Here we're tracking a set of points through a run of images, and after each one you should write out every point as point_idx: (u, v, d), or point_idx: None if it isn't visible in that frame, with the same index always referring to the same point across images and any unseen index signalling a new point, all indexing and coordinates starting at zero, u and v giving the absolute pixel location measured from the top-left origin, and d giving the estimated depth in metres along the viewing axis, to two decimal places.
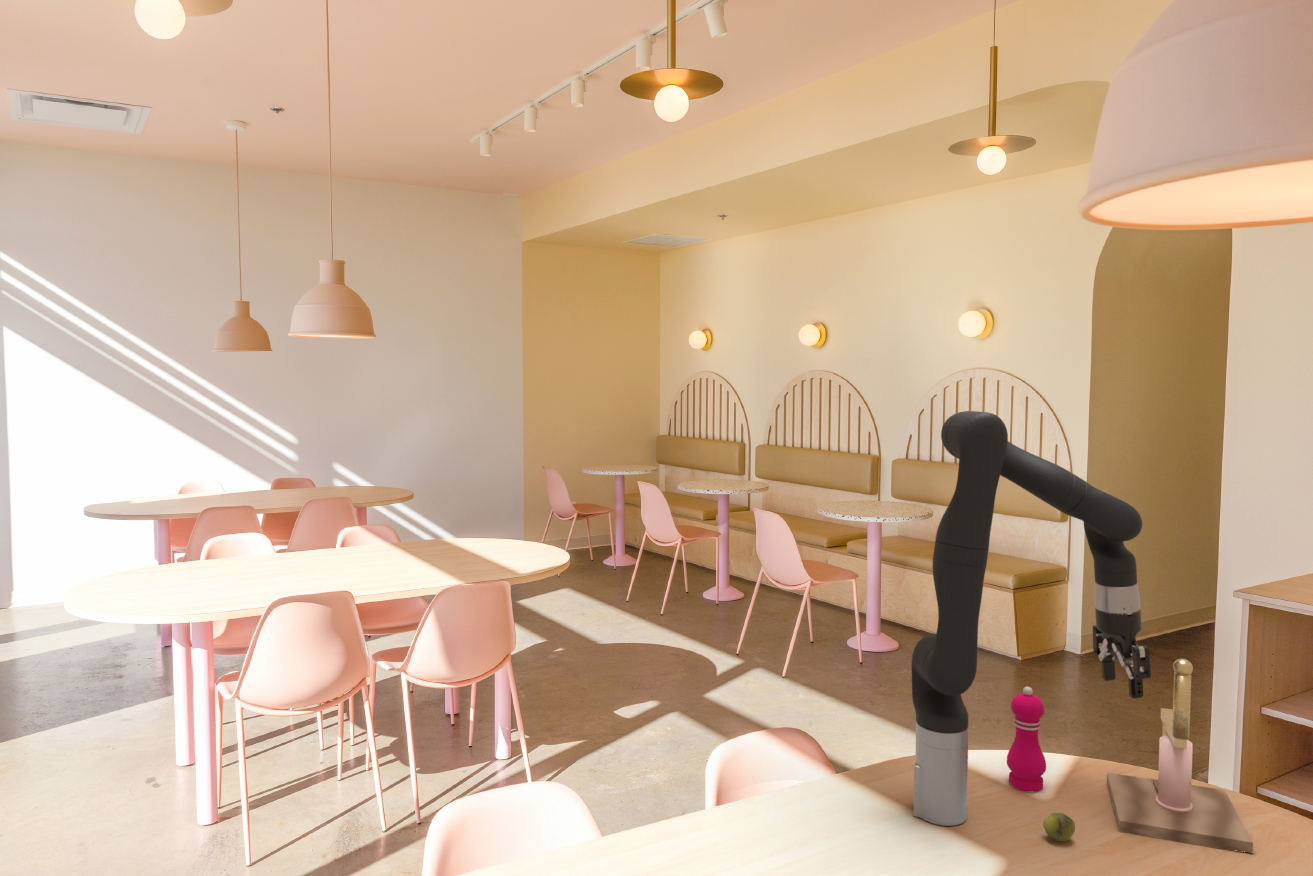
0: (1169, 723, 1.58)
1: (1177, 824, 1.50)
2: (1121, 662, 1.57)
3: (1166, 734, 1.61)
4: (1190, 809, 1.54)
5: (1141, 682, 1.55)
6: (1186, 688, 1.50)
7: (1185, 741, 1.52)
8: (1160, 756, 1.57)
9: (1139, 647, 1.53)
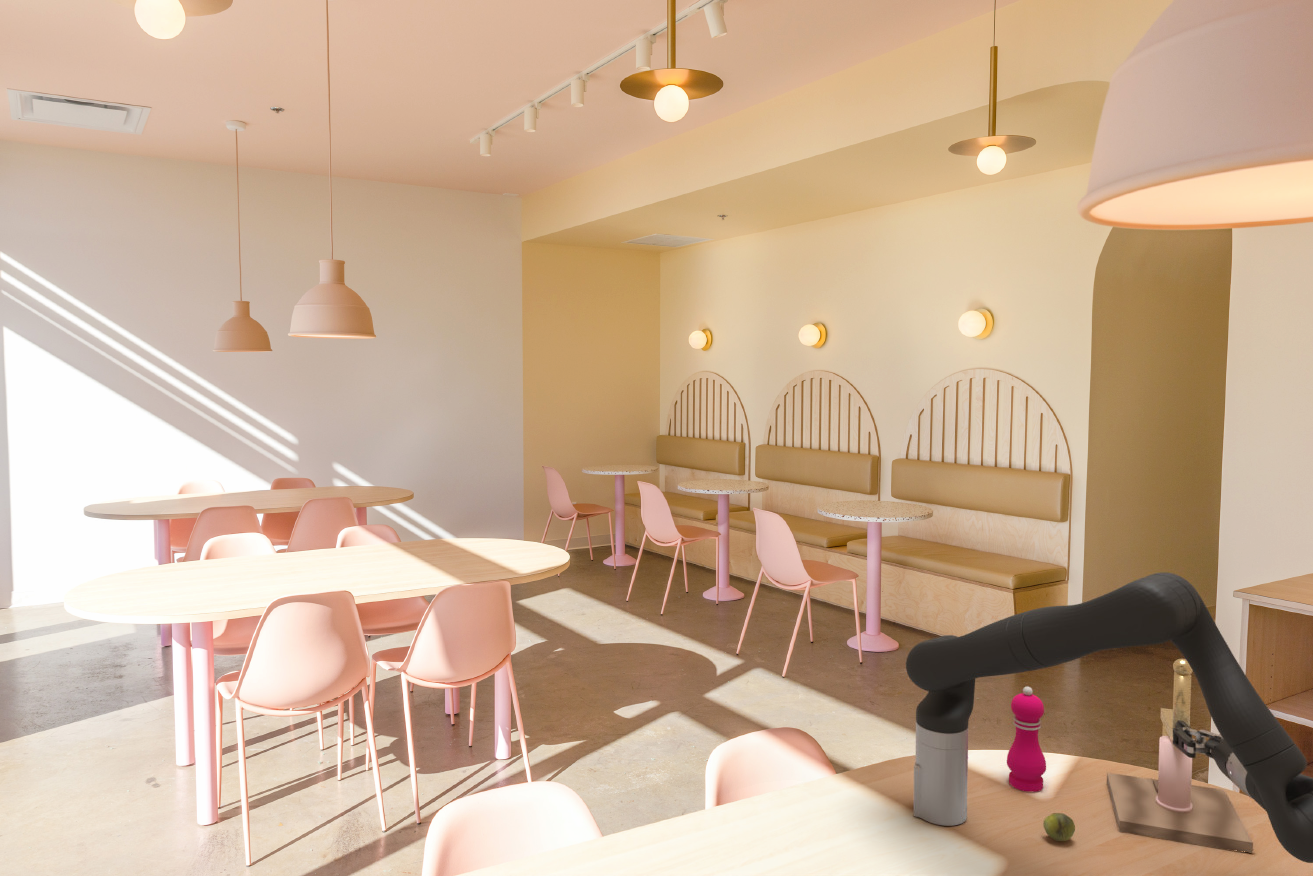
0: (1169, 723, 1.58)
1: (1177, 824, 1.50)
2: (1204, 731, 1.36)
3: (1166, 734, 1.61)
4: (1190, 809, 1.54)
5: None
6: (1186, 688, 1.50)
7: None
8: (1160, 756, 1.57)
9: (1191, 748, 1.33)
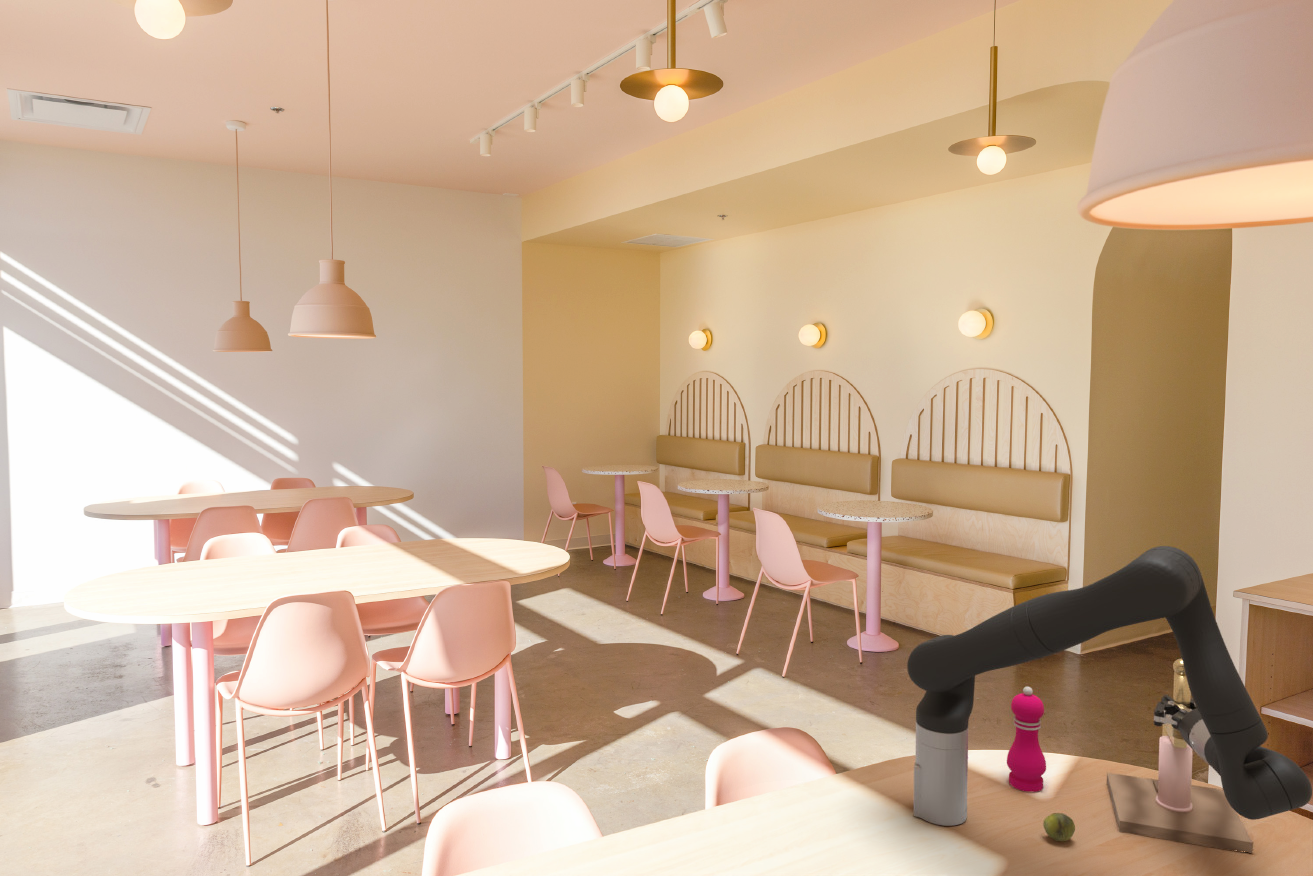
0: None
1: (1177, 824, 1.50)
2: (1180, 705, 1.48)
3: (1166, 734, 1.61)
4: (1190, 809, 1.54)
5: None
6: (1186, 688, 1.50)
7: None
8: (1160, 756, 1.57)
9: (1155, 717, 1.47)
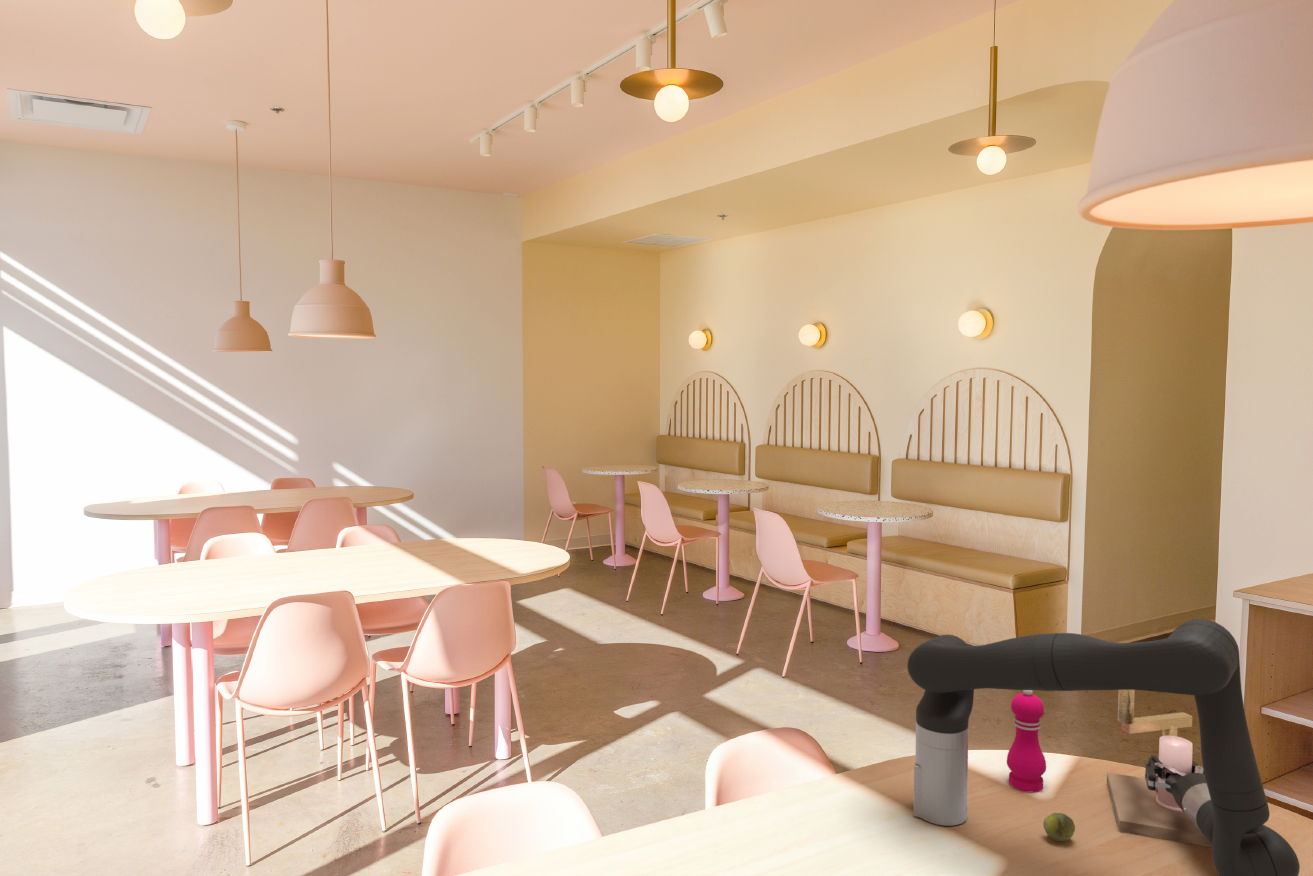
0: (1149, 716, 1.61)
1: (1177, 824, 1.50)
2: (1170, 767, 1.53)
3: None
4: None
5: None
6: None
7: (1128, 726, 1.58)
8: (1160, 756, 1.57)
9: (1150, 782, 1.50)
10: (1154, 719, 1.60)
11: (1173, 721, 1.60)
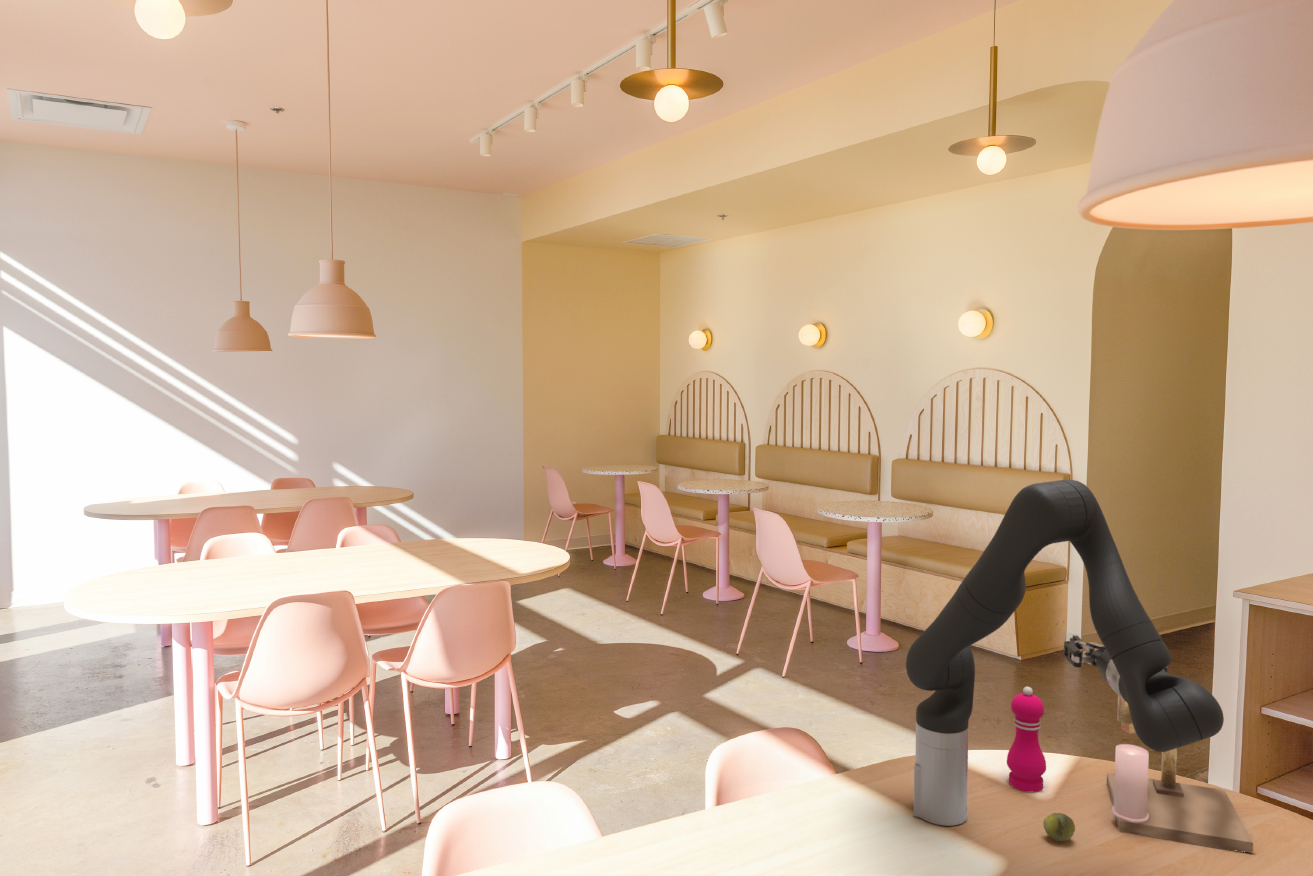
0: None
1: (1177, 824, 1.50)
2: (1093, 643, 1.38)
3: None
4: (1146, 820, 1.51)
5: None
6: None
7: (1128, 726, 1.59)
8: (1116, 765, 1.53)
9: (1076, 658, 1.35)
10: None
11: None
